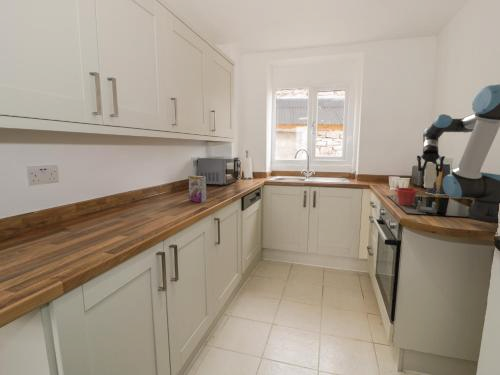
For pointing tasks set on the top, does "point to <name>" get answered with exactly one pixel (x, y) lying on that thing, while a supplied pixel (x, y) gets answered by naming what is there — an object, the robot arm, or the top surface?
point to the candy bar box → (197, 188)
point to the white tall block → (430, 175)
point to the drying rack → (426, 208)
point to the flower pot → (406, 196)
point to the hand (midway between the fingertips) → (430, 180)
